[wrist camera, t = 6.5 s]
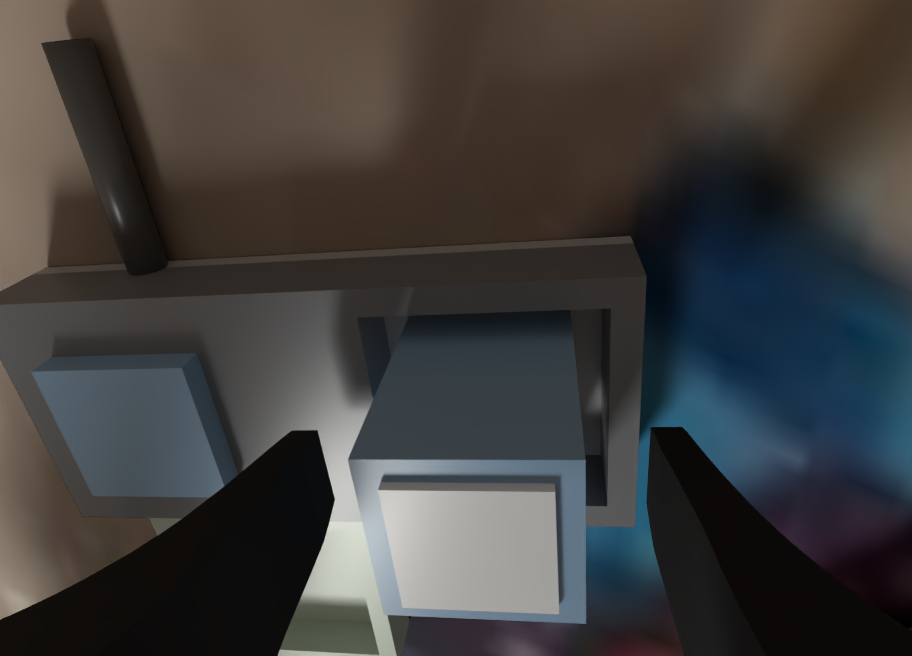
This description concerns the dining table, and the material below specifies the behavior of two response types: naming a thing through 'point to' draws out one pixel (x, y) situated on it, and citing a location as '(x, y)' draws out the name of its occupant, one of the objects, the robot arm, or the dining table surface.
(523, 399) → the plug
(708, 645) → the robot arm
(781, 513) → the dining table surface
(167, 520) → the tray
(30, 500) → the dining table surface
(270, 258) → the grey busybox board
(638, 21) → the dining table surface
